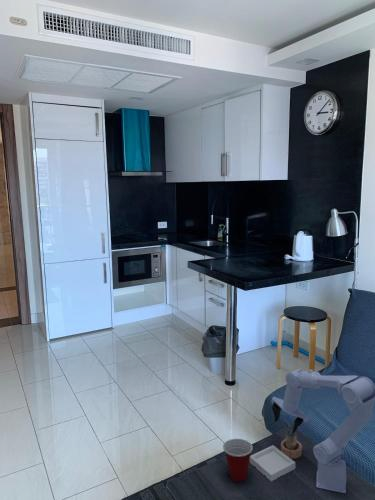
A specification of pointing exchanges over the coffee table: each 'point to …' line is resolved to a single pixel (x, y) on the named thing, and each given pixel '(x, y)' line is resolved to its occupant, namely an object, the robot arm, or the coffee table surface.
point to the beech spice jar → (290, 439)
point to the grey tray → (272, 462)
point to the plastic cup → (238, 458)
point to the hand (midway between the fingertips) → (285, 425)
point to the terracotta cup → (291, 453)
